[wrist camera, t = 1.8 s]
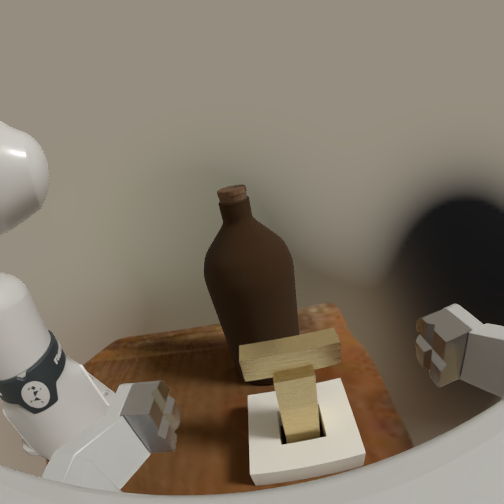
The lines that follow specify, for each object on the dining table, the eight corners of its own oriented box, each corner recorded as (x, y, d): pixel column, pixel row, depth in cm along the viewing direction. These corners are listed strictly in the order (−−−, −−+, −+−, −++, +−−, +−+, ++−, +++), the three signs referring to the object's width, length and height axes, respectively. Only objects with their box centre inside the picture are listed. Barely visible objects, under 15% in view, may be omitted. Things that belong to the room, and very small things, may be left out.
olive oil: (280, 399, 35) (238, 200, 26) (218, 374, 42) (164, 204, 32) (318, 348, 43) (296, 174, 34) (260, 333, 49) (226, 179, 40)
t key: (268, 455, 28) (238, 367, 22) (266, 432, 31) (239, 340, 25) (341, 441, 27) (342, 347, 22) (335, 419, 30) (332, 322, 25)
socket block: (255, 485, 24) (249, 474, 23) (252, 410, 34) (247, 395, 33) (363, 465, 24) (365, 452, 22) (340, 393, 34) (340, 377, 33)
